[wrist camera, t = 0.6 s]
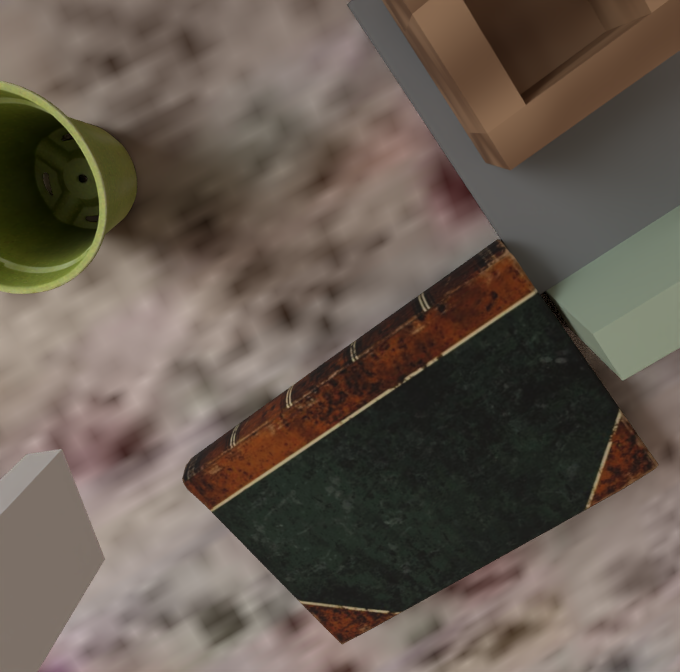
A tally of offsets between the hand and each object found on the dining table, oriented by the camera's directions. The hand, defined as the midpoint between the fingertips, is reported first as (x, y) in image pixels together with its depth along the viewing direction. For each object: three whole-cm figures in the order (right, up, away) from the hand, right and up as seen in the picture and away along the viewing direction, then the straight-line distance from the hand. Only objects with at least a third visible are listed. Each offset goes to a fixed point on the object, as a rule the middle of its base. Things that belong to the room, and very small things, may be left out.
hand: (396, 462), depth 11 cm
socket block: (+8, +19, +19) cm, 28 cm away
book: (+4, -5, +29) cm, 30 cm away
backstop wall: (+17, +7, +23) cm, 29 cm away
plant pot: (-16, +12, +23) cm, 30 cm away
